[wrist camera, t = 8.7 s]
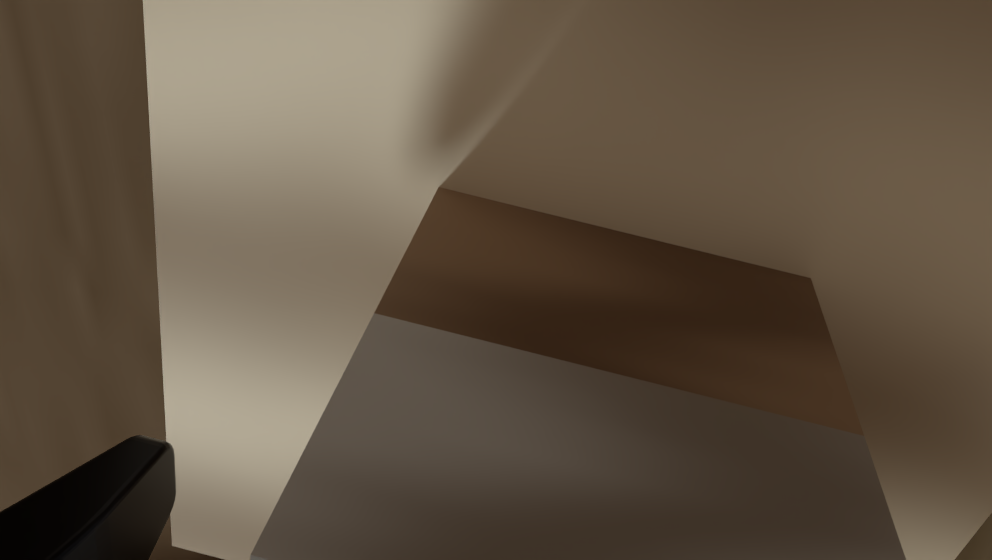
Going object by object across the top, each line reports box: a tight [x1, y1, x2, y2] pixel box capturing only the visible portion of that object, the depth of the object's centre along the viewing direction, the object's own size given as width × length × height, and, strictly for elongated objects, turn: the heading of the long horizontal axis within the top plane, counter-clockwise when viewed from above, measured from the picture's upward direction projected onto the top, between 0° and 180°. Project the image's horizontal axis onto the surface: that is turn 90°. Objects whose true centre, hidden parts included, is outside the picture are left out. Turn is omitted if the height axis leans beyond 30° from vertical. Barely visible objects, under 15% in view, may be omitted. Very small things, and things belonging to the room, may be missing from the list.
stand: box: [143, 0, 992, 560], centre depth 13 cm, size 13×13×2 cm
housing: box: [250, 187, 906, 560], centre depth 9 cm, size 5×5×6 cm
